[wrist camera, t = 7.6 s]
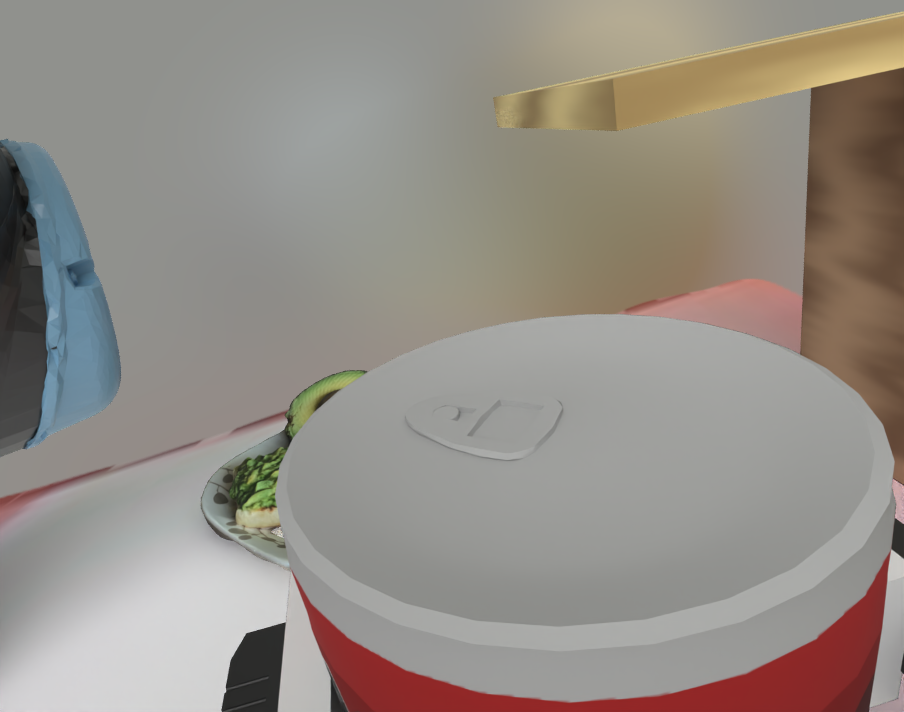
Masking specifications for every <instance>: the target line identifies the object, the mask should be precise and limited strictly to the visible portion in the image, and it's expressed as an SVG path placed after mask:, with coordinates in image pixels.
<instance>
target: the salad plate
mask: <svg viewBox="0 0 904 712" xmlns="http://www.w3.org/2000/svg"><path fill="white" fill-rule="evenodd" d="M365 373H367V371H362V370H357V371H355V370H350V371H343V372H340V373H336V374H333V375H331V376H328V377H326V378H324V379H322V380H320V381H318V382H316V383H314V384H313V385H311V386H310V387H308V388H307V389H305V390H304V391H302V393H300V394H299V395H298V396H297V397H296V398H295V399H294V400H293V401H292V403H291V405H290V409H289V411H288V412H287V413H286V414H285V417H286V418H287V419H288V424H287V425H286V427H285V430H283V431H282V432H280V433H279V434H277V435H275V436H273V437H271V438H268V439H267V440H265V441H263V442H262V443H260V444H258V445H257V446H255V447H252V448H250V449H249V450H247V451H245V452H243V453H242V454H240V455H238V456H236V457H235V458H233V459H232V460H230V461H229V462H227V463H226V464H225V465H223V466H222V467H221V468H220V469H219V470H218V471H217V472H215V473H214V475H213V476H212V477H211V478H210V480H209V481H208V483H207V485H206V487H205V489H204V492H203V495H202V497H201V509H202V511H203V514H204V516H205V518H206V520H207V523H208V524H209V525H210V526H211V528H212V529H213V530H214V531H215V532H216V534H218V535H219V536H220V537H222V538H224V539H227V540H232V541H235V542H237V543H238V544H239V545H241V546H243V547H244V548H246V549H247V550H248V551H250V552H251V553H252V554H253V555H255V556H257V557H259V558H261V559H263V560H266V561H270V562H272V563H275V564H278V565H279V566H281V567H282V568H284V569H286V570H288V571H291V569H290V566H289V561H288V556H287V551H286V546H285V541H284V538H281V537H279V536H277V535H275V534H273V533H271V531H272V530H273V529H274V528H277V527H280V526H281V525H280V520H279V514H278V509H277V504H276V499H275V493H276V486H277V480H278V474H279V467H280V464H281V462H282V460H283V458H284V456H285V454H286V452H287V450H288V448H289V446H290V443H291V441H292V439H293V437H294V436H295V435H296V434H297V433H298V431H299V430H300V429H301V428H302V426H303V425H304V424H305V423H306V421H307V420H308V419H309V418H310V416H311V415H312V414H313V413H314V412H315V411H316V410H317V409H318V408H320V407H321V406H322V405H323V404H324V403H325V402H326V401H328V400H329V399H330V398H331V397H332V396H333V395H335V394H336V393H337V392H338V391H339V390H341V389H342V388H344V387H345V386H347V385H349V384H350V383H352V382H353V381H355V380H356V379H358V378H359V377H361V376H362V375H364V374H365Z"/></svg>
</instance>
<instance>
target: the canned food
mask: <svg viewBox="0 0 904 712" xmlns="http://www.w3.org/2000/svg"><path fill="white" fill-rule="evenodd" d="M894 463H895V461H894V458H893V455H892V451H891V448H890V445H889V442H888V439H887V436H886V433H885V430H884V426H883V424H882V423H881V421H880V420H879V419H878V418H877V416H876V415H875V414H874V412H873V411H872V410H871V409H870V407H869V406H868V405H867V403H866V402H865V401H864V400H863V398H862V397H861V396H860V394H859V393H858V392H856V391H855V390H854V389H852V388H851V387H850V386H849V385H847V384H846V383H845V382H843V381H842V380H841V379H840V378H838V377H837V376H836V375H834V374H833V373H832V372H831V371H829V370H828V369H827V368H825V367H823V366H821V365H819V364H817V363H815V362H814V361H812V360H810V359H808V358H806V357H804V356H802V355H800V354H798V353H796V352H794V351H792V350H791V349H789V348H786V347H783V346H780V345H777V344H775V343H772V342H769V341H766V340H764V339H761V338H758V337H755V336H752V335H750V334H746V333H742V332H738V331H734V330H730V329H725V328H721V327H717V326H713V325H709V324H704V323H699V322H692V321H686V320H679V319H672V318H665V317H655V316H640V315H625V314H597V315H596V314H594V315H593V314H589V315H569V316H557V317H544V318H537V319H530V320H523V321H516V322H510V323H504V324H500V325H495V326H490V327H486V328H481V329H477V330H473V331H468V332H465V333H462V334H458V335H455V336H452V337H449V338H445V339H442V340H438V341H435V342H433V343H430V344H427V345H425V346H422V347H420V348H417V349H415V350H412V351H410V352H407V353H405V354H402V355H400V356H398V357H396V358H394V359H392V360H390V361H388V362H386V363H384V364H383V365H381V366H379V367H377V368H375V369H373V370H371V371H369V372H367V373H365V374H364V375H362V376H361V377H359V378H358V379H356V380H355V381H353V382H352V383H350V384H349V385H347V386H345V387H344V388H342V389H341V390H339V391H338V392H337V393H336V394H335V395H333V396H332V397H331V398H330V399H329V400H328V401H326V402H325V403H324V404H323V405H322V406H321V407H320V408H318V409H317V410H316V411H315V412H314V413H313V414H312V415H311V416H310V418H309V419H308V420H307V421H306V423H305V424H304V425H303V426H302V428H301V429H300V430H299V431H298V433H297V434H296V435H295V436H294V437H293V439H292V441H291V443H290V446H289V448H288V450H287V452H286V454H285V456H284V458H283V460H282V462H281V464H280V467H279V474H278V480H277V486H276V493H275V499H276V504H277V509H278V514H279V520H280V525H281V530H282V532H283V536H284V541H285V546H286V551H287V556H288V561H289V566H290V569H291V571H292V574H293V577H294V579H295V582H296V584H297V587H298V590H299V592H300V595H301V597H302V600H303V603H304V605H305V608H306V611H307V613H308V617H309V621H310V624H311V628H312V631H313V634H314V636H315V639H316V642H317V644H318V647H319V649H320V652H321V654H322V657H323V659H324V662H325V665H326V667H327V670H328V672H329V675H330V677H331V680H332V682H333V685H334V688H335V690H336V693H337V695H338V698H339V700H340V703H341V705H342V708H343V711H344V712H869V708H870V701H871V695H872V689H873V683H874V676H875V670H876V664H877V658H878V651H879V645H880V639H881V632H882V626H883V617H884V608H885V599H886V590H887V581H888V568H889V561H890V554H891V547H892V538H893V529H894V520H895V511H896V502H895V498H894V494H893V490H892V480H893V472H894Z"/></svg>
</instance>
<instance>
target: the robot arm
mask: <svg viewBox="0 0 904 712" xmlns="http://www.w3.org/2000/svg"><path fill="white" fill-rule="evenodd" d="M120 381H121V365H120V356H119V350H118V345H117V340H116V335H115V331H114V327H113V322H112V318H111V315H110V311H109V307H108V304H107V300H106V297H105V294H104V291H103V287H102V284H101V282H100V280H99V278H98V276H97V275H96V273H95V272H94V262H93V259H92V257H91V253H90V249H89V244H88V240H87V237H86V234H85V231H84V228H83V226H82V223H81V220H80V218H79V215H78V213H77V210H76V207H75V205H74V202H73V200H72V197H71V195H70V193H69V191H68V188H67V186H66V184H65V181H64V179H63V177H62V175H61V173H60V172H59V170H58V168H57V166H56V165H55V163H54V160H53V159H52V158H51V156H50V155H49V154H48V152H46V150H45V149H43V148H42V147H40V146H39V145H37V144H34V143H29V142H16V141H8V139H5V140H0V457H2V456H4V455H7V454H10V453H13V452H15V451H18V450H21V449H28V448H31V447H34V446H37V445H39V444H40V443H41V442H42V441H43V440H45V438H46V437H47V436H48V435H51V434H53V433H55V432H58V431H60V430H62V429H64V428H67V427H69V426H71V425H74V424H76V423H78V422H80V421H83V420H85V419H87V418H89V417H92V416H94V415H96V414H98V413H99V412H101V411H103V410H104V409H105V408H106V407H107V406H108V405H109V404H110V403H111V402H112V400H113V399H114V397H115V396H116V394H117V391H118V389H119V385H120ZM902 673H903V674H904V524H902V523H901V522H900V521H898V520H897V519H895V520H894V529H893V538H892V547H891V554H890V561H889V568H888V581H887V590H886V599H885V608H884V617H883V626H882V632H881V639H880V645H879V651H878V658H877V664H876V670H875V676H874V683H873V689H872V695H871V701H870V708H871V707H874V706H877V705H880V704H883V703H886V702H889V701H892V700H895V699H898V695H899V690H900V684H901V678H902ZM222 712H344V711H343V708H342V705H341V703H340V700H339V698H338V695H337V693H336V690H335V688H334V685H333V682H332V680H331V677H330V675H329V672H328V670H327V667H326V665H325V662H324V659H323V657H322V654H321V652H320V649H319V647H318V644H317V642H316V639H315V636H314V634H313V631H312V628H311V624H310V621H309V617H308V613H307V611H306V608H305V605H304V603H303V600H302V597H301V595H300V592H299V590H298V587H297V584H296V582H295V579H294V577H293V574H292V571H291V573H290V584H289V595H288V605H287V616H286V622H285V623H282V624H278V625H275V626H271V627H268V628H264V629H260V630H257V631H253V632H250V633H246V635H245V637H244V638H243V640H242V642H241V644H240V645H239V647H238V649H237V650H236V652H235V654H234V656H233V657H232V659H231V662H230V667H229V673H228V678H227V683H226V693H225V694H224V699H223V705H222Z"/></svg>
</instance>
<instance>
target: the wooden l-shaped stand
mask: <svg viewBox="0 0 904 712" xmlns="http://www.w3.org/2000/svg"><path fill="white" fill-rule="evenodd" d="M808 88H811V106H810V132H809V133H810V134H809V155H808V156H809V157H808V181H807V205H806V229H805V253H804V279H803V302H802V327H801V352H800V355H802V356H804V357H806V358H808V359H810V360H812V361H814V362H815V363H817V364H819V365H821V366H823V367H825V368H827V369H828V370H829V371H831V372H832V373H833V374H834V375H836V376H837V377H838V378H840V379H841V380H842V381H843V382H845V383H846V384H847V385H849V386H850V387H851V388H852V389H854V390H855V391H856V392H858V393H859V394H860V396H861V397H862V398H863V400H864V401H865V402H866V403H867V405H868V406H869V407H870V409H871V410H872V411H873V412H874V414H875V415H876V416H877V418H878V419H879V420H880V421H881V423H882V424H883V426H884V430H885V433H886V436H887V439H888V442H889V445H890V448H891V451H892V455H893V458H894V461H895V463H894V472H893V478H894V479H895V480H897V481H898V482H900V483H902V484H903V485H904V12H899V13H893V14H888V15H883V16H878V17H873V18H868V19H863V20H857V21H853V22H848V23H843V24H839V25H834V26H829V27H824V28H820V29H815V30H810V31H806V32H801V33H796V34H791V35H786V36H782V37H777V38H773V39H768V40H763V41H758V42H753V43H749V44H744V45H740V46H735V47H730V48H725V49H720V50H716V51H711V52H706V53H701V54H697V55H692V56H688V57H683V58H678V59H673V60H668V61H664V62H659V63H654V64H649V65H645V66H640V67H636V68H631V69H626V70H622V71H616V72H612V73H607V74H602V75H598V76H593V77H588V78H584V79H579V80H574V81H569V82H565V83H560V84H555V85H551V86H546V87H541V88H536V89H531V90H527V91H522V92H517V93H513V94H508V95H503V96H498V97H494V98H493V99H494V106H495V112H496V119H497V125H498V127H509V128H511V127H512V128H541V129H573V130H574V129H575V130H605V131H606V130H607V131H618V130H623V129H627V128H632V127H637V126H641V125H646V124H650V123H655V122H659V121H664V120H668V119H673V118H677V117H682V116H686V115H691V114H695V113H699V112H704V111H709V110H713V109H718V108H722V107H727V106H731V105H736V104H740V103H745V102H749V101H753V100H758V99H763V98H767V97H772V96H776V95H781V94H786V93H790V92H795V91H799V90H803V89H808Z"/></svg>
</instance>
